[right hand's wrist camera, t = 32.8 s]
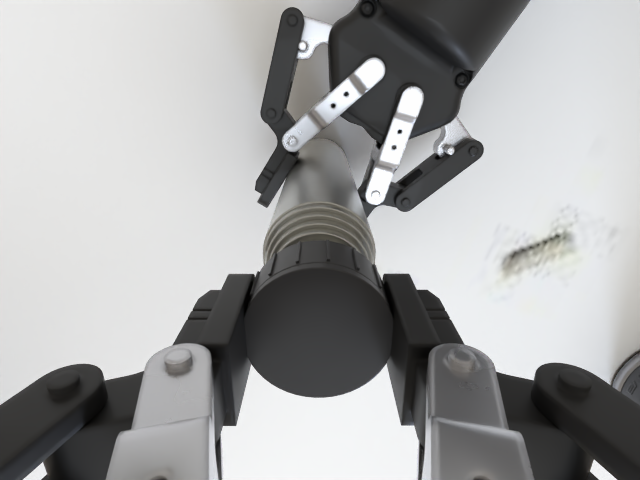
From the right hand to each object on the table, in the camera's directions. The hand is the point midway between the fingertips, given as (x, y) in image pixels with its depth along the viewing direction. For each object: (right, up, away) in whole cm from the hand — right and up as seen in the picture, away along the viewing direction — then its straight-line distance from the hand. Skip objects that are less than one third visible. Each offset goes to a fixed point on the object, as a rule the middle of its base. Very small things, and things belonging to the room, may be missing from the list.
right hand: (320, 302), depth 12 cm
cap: (0, -1, -1) cm, 2 cm away
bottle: (0, +8, +19) cm, 21 cm away
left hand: (-2, +3, +14) cm, 14 cm away
